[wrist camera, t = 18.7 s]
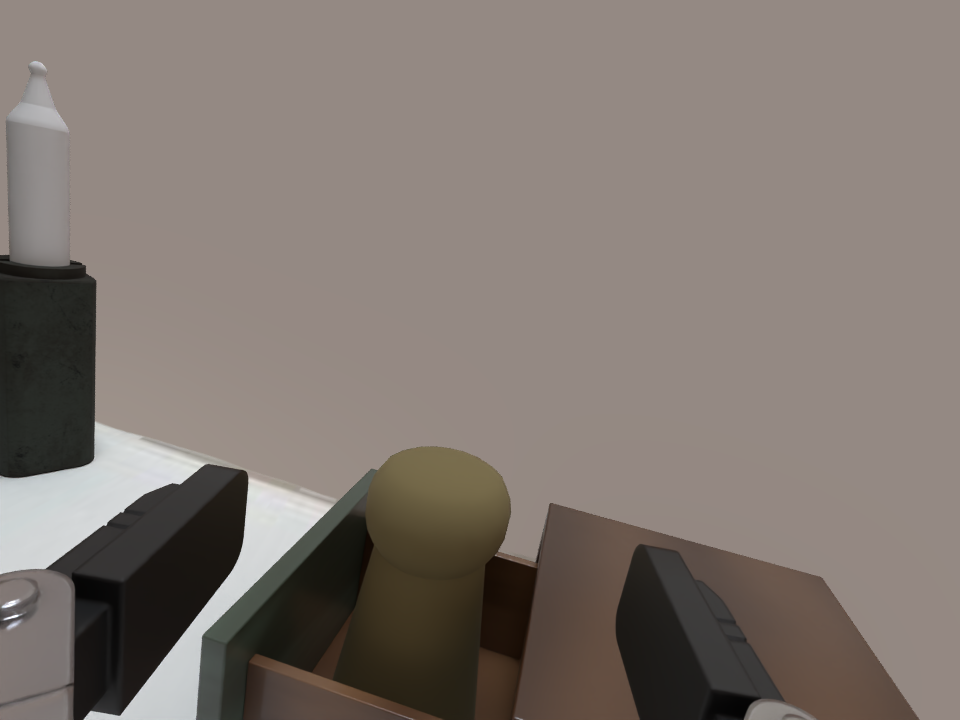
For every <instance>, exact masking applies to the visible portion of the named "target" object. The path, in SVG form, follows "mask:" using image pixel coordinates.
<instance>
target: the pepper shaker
mask: <svg viewBox="0 0 960 720" xmlns="http://www.w3.org/2000/svg"><path fill="white" fill-rule="evenodd" d="M510 515H511V504H510V497H509V494H508V491H507V488H506V486H505V483H504V481H503V478H502V476H501V475H500V474H499V473H498V472H497V471H496V470H495V469H494V468H493V467H492V466H490V465H489V464H487V463H486V462H484V461H482V460H481V459H480V458H478V457H475V456H473V455H471V454H468V453H466V452H463V451H459V450H454V449H451V448H444V447H417V448H412V449H407V450H404V451H401V452H399V453H396V454H394V455H392V456H390V458H389V459H388V460H387V461H386V462H385V463H384V464H383V465H382V466H381V467H380V469H379V470H378V471H377V472H376V473H375V474H374V476H373V479H372V481H371V483H370V486H369V489H368V496H367V503H366V511H365V517H366V524H367V530H368V532H369V534H370V537H371V539H372V542H373V543H374V547H373V550H372V554H371V557H370V560H369V563H368V566H367V570H366V573H365V576H364V579H363V582H362V586H361V589H360V592H359V595H358V599H357V602H356V605H355V608H354V611H353V615H352V618H351V621H350V624H349V627H348V631H347V634H346V637H345V640H344V643H343V647H342V650H341V653H340V656H339V660H338V663H337V666H336V669H335V672H334V676H333V679H332V680H333V681H336V682H339V683H342V684H344V685H347V686H350V687H353V688H356V689H359V690H361V691H364V692H367V693H370V694H373V695H376V696H379V697H381V698H384V699H387V700H390V701H393V702H396V703H398V704H401V705H404V706H407V707H410V708H413V709H415V710H418V711H421V712H424V713H427V714H430V715H432V716H435V717H438V718H441V719H444V720H475V707H476V693H477V678H478V663H479V648H480V634H481V619H482V604H483V589H484V575H485V564H486V563H487V562H488V561H489V560H490V559H491V558H492V557H493V556H494V555H495V554H496V553H497V552H498V550H499V548H500V546H501V544H502V543H503V541H504V539H505V535H506V531H507V527H508V523H509V519H510Z"/></svg>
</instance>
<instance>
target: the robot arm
mask: <svg viewBox="0 0 960 720" xmlns="http://www.w3.org/2000/svg"><path fill="white" fill-rule="evenodd" d="M247 492H248V474H247V472H246V471H244V470H239V469H233V468H228V467H222V466H217V465H211V464H206V465H204V466H203V467H202V468H200V469H199V470H198V471H197V472H195V473H194V474H193V475H192V476H190V477H189V478H188V479H187V480H185V481H184V482H183V483H182V484H180V485H179V484H173V483H172V484H169V485H167V486H164V487H162V488H159V489H157V490H154V491H152V492H149V493H147V494H144V495H143V496H142V497H140V498H139V499H138V500H136V501H135V502H134V503H132V504H131V505H130V506H128V507H127V508H126V509H125V510H124V513H121V512H120V513H119V514H118V515H117V516H115V517H114V518H113V519H111V520H110V521H109V522H108V524H107V525H106V526H104V525H103V526H102V527H101V528H99V529H98V530H97V531H95V532H94V533H93V534H91V535H90V536H89V537H87V538H86V539H85V540H83V541H82V542H81V543H79V544H78V545H77V546H75V547H74V548H73V549H71V550H70V551H69V552H67V553H66V554H65V555H63V556H62V557H61V558H59V559H58V560H57V561H55V562H54V563H53V564H51V565H50V566H49V567H48V568H46V569H30V570H20V571H14V572H9V573H5V574H1V575H0V720H83V719H84V718H85V717H86V716H87V714H88V713H89V712H90V711H95V712H101V713H107V714H113V715H118V716H120V715H121V714H122V712H123V711H124V710H125V708H126V707H127V706H128V705H129V703H130V702H131V701H132V699H133V698H134V697H135V696H136V694H137V693H138V692H139V690H140V689H141V688H142V687H143V685H144V684H145V683H146V681H147V680H148V679H149V677H150V676H151V675H152V674H153V672H154V671H155V670H156V668H157V667H158V666H159V665H160V663H161V662H162V661H163V659H164V658H165V657H166V655H167V654H168V653H169V652H170V650H171V649H172V648H173V646H174V645H175V644H176V643H177V641H178V640H179V639H180V637H181V636H182V635H183V633H184V632H185V631H186V630H187V628H188V627H189V626H190V624H191V623H192V622H193V621H194V619H195V618H196V617H197V615H198V614H199V613H200V612H201V610H202V609H203V608H204V606H205V605H206V604H207V602H208V601H209V600H210V599H211V597H212V596H213V595H214V593H215V592H216V591H217V590H218V588H219V587H220V586H221V584H222V583H223V582H224V580H225V579H226V578H227V577H228V575H229V574H230V573H231V571H232V570H233V568H234V566H235V564H236V562H237V560H238V557H239V555H240V552H241V548H242V544H243V538H244V527H245V515H246V504H247ZM615 630H616V640H617V644H618V647H619V651H620V654H621V658H622V661H623V664H624V668H625V671H626V675H627V678H628V682H629V685H630V688H631V692H632V695H633V699H634V702H635V705H636V709H637V712H638V716H639V719H640V720H818V719H817V718H815V717H814V716H812V715H811V714H809V713H808V712H806V711H804V710H802V709H800V708H798V707H796V706H794V705H792V704H789V703H786V702H785V700H784V698H783V697H782V695H781V693H780V692H779V690H778V689H777V687H776V685H775V684H774V682H773V680H772V679H771V677H770V676H769V674H768V672H767V671H766V669H765V667H764V666H763V664H762V663H761V661H760V659H759V658H758V656H757V654H756V653H755V651H754V649H753V648H752V646H751V645H750V643H747V638H746V636H745V635H744V633H743V632H742V630H741V628H740V627H739V625H736V620H735V619H734V617H733V615H732V614H731V612H730V610H729V609H728V607H727V605H726V604H725V602H724V601H723V600H722V599H721V598H720V597H719V596H718V595H717V594H716V593H715V592H714V591H713V590H712V589H711V588H710V587H708V586H707V585H706V584H705V583H704V582H703V581H701V580H695V579H694V578H693V576H692V574H691V572H690V571H689V569H688V567H687V565H686V563H685V562H684V560H683V558H682V556H681V555H680V553H679V552H678V551H676V550H672V549H666V548H661V547H655V546H650V545H644V544H639V545H638V546H637V547H636V548H635V550H634V553H633V556H632V559H631V563H630V566H629V570H628V573H627V577H626V580H625V583H624V587H623V590H622V594H621V597H620V601H619V604H618V608H617V613H616V623H615Z"/></svg>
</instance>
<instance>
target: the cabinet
mask: <svg viewBox="0 0 960 720" xmlns="http://www.w3.org/2000/svg"><path fill="white" fill-rule="evenodd" d="M639 544H644V545H650V546H655V547H661V548H666V549H672V550H676V551H678V552H679V553H680V555H681V556H682V558H683V560H684V562H685V563H686V565H687V567H688V569H689V571H690V572H691V574H692V576H693V578H694V579H695V580H701V581H703V582H704V583H705V584H706V585H707V586H708V587H710V588H711V589H712V590H713V591H714V592H715V593H716V594H717V595H718V596H719V597H720V598H721V599H722V600H723V601H724V602H725V604H726V605H727V607H728V609H729V610H730V612H731V614H732V615H733V617H734V619H735V620H736V625H739V627H740V628H741V630H742V632H743V633H744V635H745V636H746V638H747V643H750V645H751V646H752V648H753V649H754V651H755V653H756V654H757V656H758V658H759V659H760V661H761V663H762V664H763V666H764V667H765V669H766V671H767V672H768V674H769V676H770V677H771V679H772V680H773V682H774V684H775V685H776V687H777V689H778V690H779V692H780V693H781V695H782V697H783V698H784V700H785V702H786V703H789V704H792V705H794V706H796V707H798V708H800V709H802V710H804V711H806V712H808V713H809V714H811V715H812V716H814V717H815V718H817V719H818V720H919V718H918V717H917V715H916V714H915V712H914V711H913V710H912V708H911V707H910V705H909V704H908V702H907V701H906V699H905V698H904V696H903V695H902V694H901V692H900V691H899V689H898V688H897V686H896V685H895V683H894V682H893V680H892V679H891V677H890V676H889V675H888V673H887V672H886V670H885V669H884V667H883V666H882V664H881V663H880V661H879V660H878V659H877V657H876V656H875V654H874V653H873V651H872V650H871V648H870V647H869V645H868V644H867V642H866V641H865V640H864V638H863V637H862V635H861V634H860V632H859V631H858V629H857V628H856V626H855V625H854V624H853V622H852V621H851V619H850V618H849V616H848V615H847V613H846V612H845V610H844V609H843V608H842V606H841V605H840V603H839V602H838V600H837V599H836V597H835V596H834V594H833V593H832V592H831V590H830V589H829V587H828V586H827V584H826V583H825V581H824V580H823V578H821V577H818V576H815V575H811V574H808V573H804V572H800V571H797V570H793V569H789V568H785V567H782V566H778V565H775V564H771V563H767V562H764V561H760V560H757V559H753V558H749V557H746V556H742V555H738V554H735V553H731V552H728V551H724V550H720V549H717V548H713V547H709V546H706V545H702V544H698V543H695V542H691V541H687V540H684V539H680V538H676V537H673V536H669V535H666V534H662V533H658V532H655V531H651V530H647V529H644V528H640V527H636V526H633V525H629V524H626V523H622V522H618V521H615V520H611V519H607V518H604V517H600V516H596V515H593V514H589V513H586V512H582V511H578V510H575V509H571V508H567V507H563V506H560V505H556V504H553V503H550V504H549V509H548V513H547V517H546V521H545V525H544V529H543V533H542V537H541V541H540V546H539V549H538V554H537V558H536V562H535V563H538V566H537V572H536V577H535V583H534V588H533V594H532V599H531V604H530V610H529V615H528V621H527V626H526V632H525V637H524V643H523V648H522V654H521V659H520V665H519V670H518V676H517V681H516V687H515V692H514V698H513V703H512V709H511V714H510V720H640V719H639V716H638V712H637V709H636V705H635V702H634V699H633V695H632V692H631V688H630V685H629V682H628V678H627V675H626V671H625V668H624V664H623V661H622V658H621V654H620V651H619V647H618V644H617V640H616V630H615V623H616V613H617V608H618V604H619V601H620V597H621V594H622V590H623V587H624V583H625V580H626V577H627V573H628V570H629V566H630V563H631V559H632V556H633V553H634V550H635V548H636V547H637V546H638V545H639Z"/></svg>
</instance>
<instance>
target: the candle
mask: <svg viewBox="0 0 960 720" xmlns="http://www.w3.org/2000/svg"><path fill="white" fill-rule="evenodd" d="M28 67H29V70H30V72H31V76H30V78H29V81H28V84H27V86H26V89H25V91H24V94H23V97H22V99H21V102H20V103H19V104H18V105H17V107H15V108H14V110H12V112H11V113H10V114H9V115H8V116H7V118H6V136H7V137H6V140H7V175H8V176H7V177H8V212H9V213H8V214H9V249H10V255H0V474H1V475H4V476H9V477H21V476H28V475H34V474H39V473H44V472H50V471H55V470H61V469H66V468H71V467H77V466H81V465H85V464H87V463H89V462H91V461H92V460H93V459H94V430H95V345H96V280H95V279H94V278H92V277H91V276H89V275H88V274H86V266H85V265H82V263H80V262H76V261H72V260H70V132H69V129H68V128H67V126H66V124H65V123H64V121H63V120H62V118H61V117H60V115H59V114H58V112H57V111H56V109H55V106H54V103H53V100H52V97H51V94H50V91H49V88H48V85H47V82H46V79H45V76H46V74H47V69H46V68H45V66H44V65H43V64H42V63H40V62H37V61H34V62H32V63H30V64H29V66H28Z"/></svg>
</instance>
